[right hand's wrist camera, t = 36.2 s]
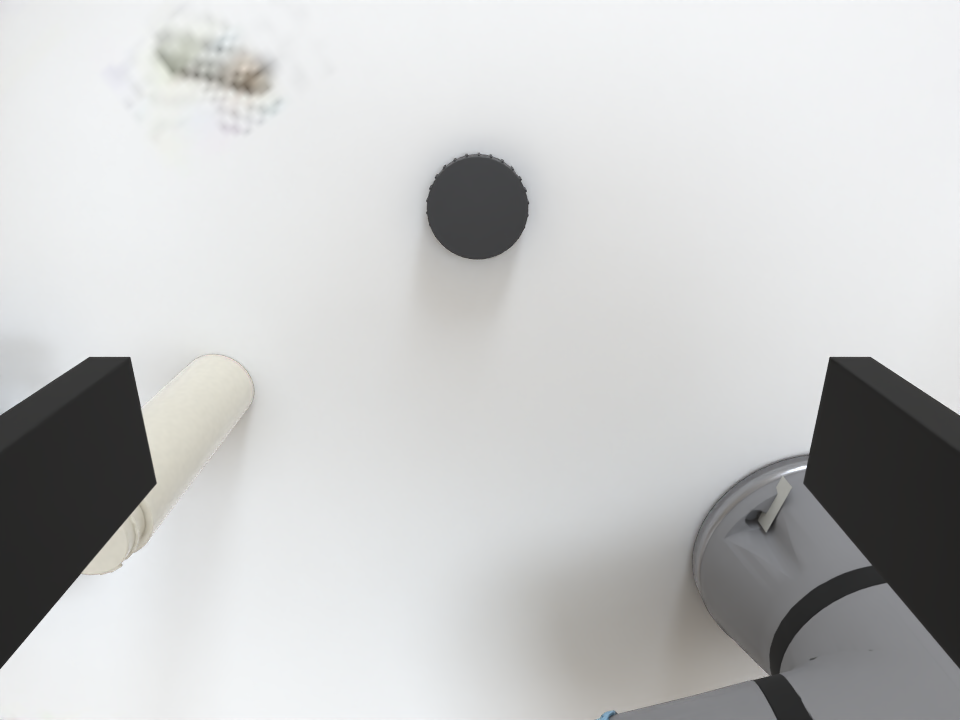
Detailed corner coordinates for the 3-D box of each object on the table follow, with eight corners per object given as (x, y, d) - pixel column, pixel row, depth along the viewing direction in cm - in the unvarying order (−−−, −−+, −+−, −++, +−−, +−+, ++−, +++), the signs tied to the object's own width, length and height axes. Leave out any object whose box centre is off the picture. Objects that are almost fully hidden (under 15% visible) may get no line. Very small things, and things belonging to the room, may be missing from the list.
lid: (428, 252, 38) (426, 259, 36) (427, 151, 36) (425, 153, 34) (524, 255, 38) (526, 262, 36) (529, 153, 36) (532, 156, 34)
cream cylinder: (167, 376, 40) (1, 522, 26) (223, 341, 40) (82, 473, 26) (213, 430, 42) (79, 597, 28) (268, 398, 41) (158, 553, 27)
